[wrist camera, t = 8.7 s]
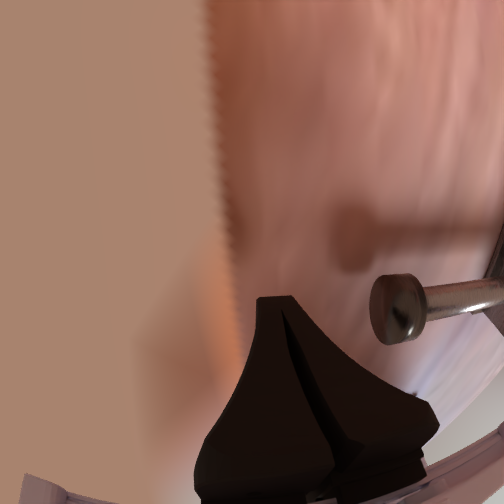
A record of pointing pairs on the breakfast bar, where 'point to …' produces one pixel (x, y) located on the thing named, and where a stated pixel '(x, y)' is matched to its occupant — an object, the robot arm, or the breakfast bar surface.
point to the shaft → (425, 303)
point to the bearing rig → (499, 266)
